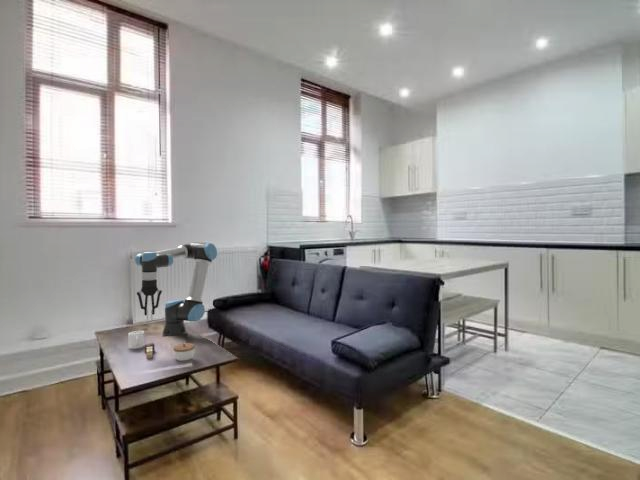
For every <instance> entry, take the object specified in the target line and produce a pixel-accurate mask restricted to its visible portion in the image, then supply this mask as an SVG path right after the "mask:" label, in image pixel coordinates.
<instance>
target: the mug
mask: <svg viewBox="0 0 640 480" xmlns="http://www.w3.org/2000/svg"><path fill="white" fill-rule="evenodd" d="M144 332H145V331H144V330H134V331H130V332H128V336H127V337H128V338H127V339H128V346H127V347H128V349H129V350H130V349H132V350H134V349H135V350H137V349H140V348H143V347H145V333H144Z"/></svg>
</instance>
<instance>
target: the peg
mask: <svg viewBox="0 0 640 480" xmlns="http://www.w3.org/2000/svg"><path fill="white" fill-rule="evenodd" d="M154 352H155V343H154V342H153V343H152V342H150V343H146V344H145V343H144V353H145V354H146V359H152V358H153V353H154Z"/></svg>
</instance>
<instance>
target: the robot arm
mask: <svg viewBox="0 0 640 480" xmlns="http://www.w3.org/2000/svg"><path fill="white" fill-rule="evenodd" d="M217 250H218V249H217V247H216V246H215V244H214V243H210V242H189V243H185V244H182V245H179V246H177V247H174V248H169V249H164V250H159V251H145V252H144V251H143V253H138V254H137V255H136V256H135V258H134V262H135V264H136V265H137V266H139V267H141V288H140V290H139V291H136V295H137V297H138V301H139V306H140V309H141V310H144V313H143V314H144V316H146V322H149V308H148V301H149V300H148V298H149V296H150V297H151V298H150V299H151V308H150V322H152V321H153V315H155V310H156V309H157V308H159V305H160V298H161V295H162V293H163V290H162V289H158V282H157V281H158V280H157V278H158V269H161V268H167V267H171V266H172V265H173V263H174V260H179V259H181V260H185V259H193V261H194V263H195V265H194V269H193V273H192V278H191V282H190V287H189V291H188V295H187V297H186V298H185V299H173V300H169V301H167V302H166V303H165V305H164V326H163V329H162V332H161V335H162V337H173V336H179V335H180V336H182V335H183V336H185V335H186V334H187V327H186V326H185V325H186V324H185V321H186V322H195V323H196V322H198V321H201V319H202V318H203V317H204V315H205V311H206V309H205V306H204V303H203V302H204V301H203V300H202V296H203V294H204V293H203V292H204V287H205V282H206V279H207V274H208V269H209V265H211V264H212V261H214V260H215V259H216V258H217V256H218V251H217ZM156 293H157V297H156V302H155V298H154V297H155V296H154V295H155V294H156ZM142 294H143V295H144V296H145V298H144V303H143V299H142V298H143V297H142ZM155 303H156V304H155Z"/></svg>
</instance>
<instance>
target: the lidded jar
mask: <svg viewBox="0 0 640 480" xmlns="http://www.w3.org/2000/svg"><path fill="white" fill-rule="evenodd" d="M195 346H196V345H195V344H194V343H190V342H189V343H188V342H187V343H186V342H184V343H180V344H176V345H175V346H174V347H173V356H174V358H175V360H176V361H180V362H182V361H189V360H192V359H193V357H194V355H195Z"/></svg>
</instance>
